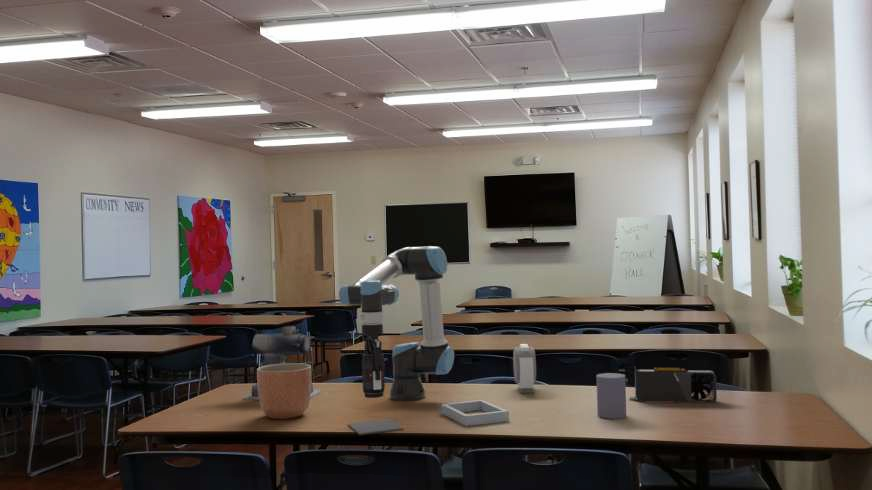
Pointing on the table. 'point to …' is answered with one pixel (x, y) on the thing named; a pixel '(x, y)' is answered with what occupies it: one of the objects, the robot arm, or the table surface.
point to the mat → (375, 426)
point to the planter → (284, 389)
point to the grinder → (279, 351)
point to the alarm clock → (524, 367)
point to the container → (611, 395)
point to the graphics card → (674, 385)
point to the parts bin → (490, 416)
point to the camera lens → (371, 377)
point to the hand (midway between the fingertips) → (373, 387)
